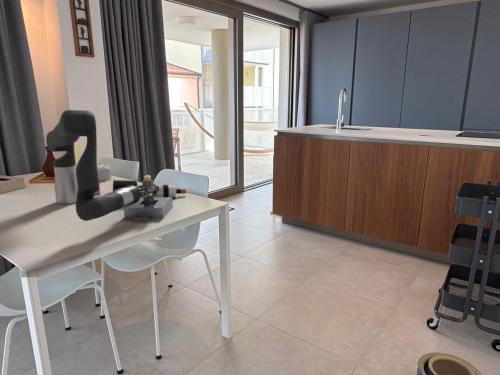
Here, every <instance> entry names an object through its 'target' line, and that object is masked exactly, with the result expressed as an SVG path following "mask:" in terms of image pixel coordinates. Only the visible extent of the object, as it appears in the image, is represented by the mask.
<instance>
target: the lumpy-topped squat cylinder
mask: <svg viewBox="0 0 500 375" xmlns="http://www.w3.org/2000/svg"><path fill="white" fill-rule="evenodd" d="M97 169H98V177H99V182H106V181H107V180H108V181H111V180H112V173H111V172H112V171H111V166H110V165H109V164H103V163H102V164H100V165H99V164H98V163H97ZM108 181H107V182H108Z"/></svg>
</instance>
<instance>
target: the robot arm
mask: <svg viewBox="0 0 500 375" xmlns="http://www.w3.org/2000/svg"><path fill="white" fill-rule="evenodd" d="M80 137H86V146H85V148H84V151H83V152H82V155H81V156H80V158H79V159H78V162H77V163H76V155H75V154H76V153H75V152H76V151H75V143H76V142H77V141H79V140H80V139H79V138H80ZM45 138H46V139H45V142H46V146H47V148H48V150H49V151H51V152H54V153H55V152H56V153H57V152H65V154H63V155H62V156H60V157H58V158H55V159H54V160H53V162H52V163H53V171H54V179H55V182H53V186H54V194H55V202H56V203H57V204H61V205H69V204H75V212H76V214H77V217H78V218H79V219H80V220H82V221H83V222H85V221H86V222H87V221H92V220H95V219H100V218H103V217H105V216H107V215H109V214H111V213H113V212H116V211H118V210H121V209H124V208H125V207H128V206H130V205H133V204H135V203H137V202H138V201H139V199H140V198H143V197H145V196H148V198H151V197H153V196H155V195H157V191H159V186H155V187H152V188H148V187H146V188H143V186H142V185H141V186H132V185H130V186H126V187H123V188H120V189H117V190H115V191H113V190H112V191H111V192H107V193H105V194H103V195H99V196H96V197H95V195H94V194H95V193H96V192H97V191H98V190H99V188H100V181H99V177H98V170H97V164H98V161H97V159H98V158H97V156H98V149H97V148H98V144H97V143H98V141H97V140H98V139H97V138H98V137H97V120H96V117H95V114H94V113H93V111H92V110H81V109H79V110H78V109H77V110H76V109H68V110H64V111H63V112H62V113H61V116H60V118H59V122H58V123H57V124H56V126H55V127H54V128H53V129H52V130H50V131H49V132H47V134H46V137H45ZM100 189H101V188H100ZM145 190H146V191H145ZM149 190H150V191H149ZM146 192H147V193H146Z"/></svg>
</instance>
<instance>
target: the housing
mask: <svg viewBox="0 0 500 375" xmlns="http://www.w3.org/2000/svg"><path fill="white" fill-rule="evenodd" d="M173 206H174V205H173V197H154V205H150V204H144V200H143V198H140V199H139V201H138V202H137V203H135V204H133V205H130V206H128V207H125V208H123V214H124V215H123V216H124V219H132V222H139V223H141V222H142V223H143V222H145V223H146V222H150V220H152V219H158V220H159V219H161V220H162V219H164V218H165V217H166V215H168V214H169V212H170V211H171V209H173Z"/></svg>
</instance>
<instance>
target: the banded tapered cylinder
mask: <svg viewBox="0 0 500 375" xmlns="http://www.w3.org/2000/svg"><path fill="white" fill-rule="evenodd" d="M112 180H113V181H112V192H113V191H115V190H117V189H120V188H123V187H126V186H130V185H132V186H141V185H142V182H141V183H138V182H137V180H126V179H125V180H124V179H123V180H119V179H118V180H117V179H116V180H115V179H112ZM155 186H159V191H157V195H155V196H154V197H172V198H176V197H177V195H180V194H183V195H184V194H187V189H186V188H184V189H183V188H182V189H179V188H177V186H176V185H171V184H169V185H168V184H156V183H153V187H155Z"/></svg>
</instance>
